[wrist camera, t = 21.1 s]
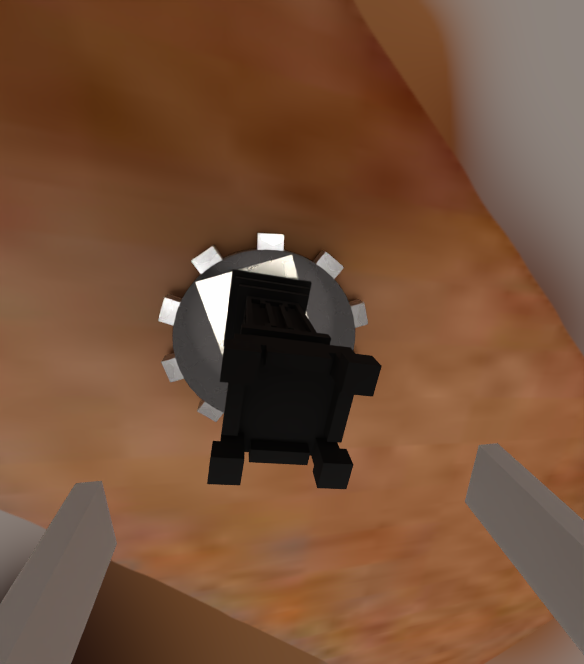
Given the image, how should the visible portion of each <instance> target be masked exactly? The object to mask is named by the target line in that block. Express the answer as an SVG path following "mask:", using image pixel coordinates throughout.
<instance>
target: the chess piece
mask: <svg viewBox="0 0 584 664" xmlns="http://www.w3.org/2000/svg"><path fill="white" fill-rule="evenodd" d="M311 284H312V282H311V281H306V280H299V279H293V278H287V277H280V276H274V275H268V274H261V273H255V272H249V271H242V270H236V269H233V270H232V278H231V286H230V294H229V302H228V311H227V319H226V327H225V335H224V344H223V346H224V350H223V359H222V367H221V375H220V382H225V383H228V387H227V395H226V402H225V410H224V418H223V425H222V433H221V441H213V444H212V450H211V457H210V465H209V474H208V482H207V484H220V485H240V483H241V477H242V470H243V464H244V452H249V462H256V463H276V464H296V465H307V464H308V460H309V455H311V456H312V459H313V463H314V468H313V474H314V478H315V481H316V485H317V488H329V489H346V488H347V485H348V481H349V478H350V474H351V471H352V468H353V463H352V460H351V458H350V456H349V454H348V451H347V449H340V448H339V446H338V443H337V442H342V438H343V434H344V430H345V427H346V423H347V419H348V415H349V412H350V408H351V404H352V400H353V396H354V395H363V396H373V394H374V391H375V387H376V384H377V380H378V377H379V373H380V370H381V365H380V364H379V363H378V362H377V361H376V360H375V358H374V357H373V356H369V355H361V354H355V352H354V351H353V350H352V349H351V348H350V347H343V346H335V345H330V342H331V337H330V336H329V334H323V333H317V332H316V330H315V329H314V327H313V325H312V324H311V322H310V321H309V319H308V318H307V316H306V310H307V304H308V299H309V294H310V289H311Z"/></svg>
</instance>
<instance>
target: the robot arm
mask: <svg viewBox="0 0 584 664" xmlns="http://www.w3.org/2000/svg"><path fill="white" fill-rule="evenodd" d="M465 503H466V504H467V505H468V506H469V508H470V509H471V510H472V512H473V513H474V514H475V515H476V517H477V518H478V519H479V521H480V522H481V523H482V524H483V526H484V527H485V528H486V530H487V531H488V532H489V534H490V535H491V536H492V537H493V539H494V540H495V541H496V543H497V544H498V545H499V546H500V548H501V549H502V550H503V552H504V553H505V554H506V555H507V557H508V558H509V559H510V561H511V562H512V563H513V564H514V566H515V567H516V568H517V570H518V571H519V572H520V573H521V575H522V576H523V577H524V579H525V580H526V581H527V583H528V584H529V585H530V586H531V588H532V589H533V590H534V592H535V593H536V594H537V595H538V597H539V598H540V599H541V601H542V602H543V603H544V604H545V606H546V607H547V608H548V610H549V611H550V612H551V613H552V615H553V616H554V617H555V619H556V620H557V621H558V622H559V624H560V625H561V626H562V628H563V629H564V630H565V631H566V633H567V634H568V635H569V637H570V638H571V639H572V641H573V642H574V643H575V644H576V646H577V647H578V648H579V650H580V651H581V652H582V653H583V655H584V520H583V519H581V518H580V517H579V516H578V515H577V514H576V513H575V512H574V511H572V510H571V509H570V508H569V507H568V506H567V505H566V504H565V503H564V502H562V501H561V500H560V499H559V498H558V497H557V496H556V495H555V494H553V493H552V492H551V491H550V490H549V489H548V488H547V487H546V486H545V485H543V484H542V483H541V482H540V481H539V480H538V479H537V478H536V477H534V476H533V475H532V474H531V473H530V472H529V471H528V470H527V469H526V468H524V467H523V466H522V465H521V464H520V463H519V462H518V461H517V460H515V459H514V458H513V457H512V456H511V455H510V454H509V453H508V452H507V451H505V450H504V449H503V448H502V447H501V446H500V445H499V444H498V443H497V444H486V445H479V447H478V451H477V455H476V459H475V463H474V467H473V471H472V475H471V479H470V483H469V487H468V491H467V495H466V499H465ZM116 544H117V542H116V538H115V534H114V530H113V526H112V521H111V517H110V513H109V509H108V505H107V501H106V496H105V492H104V488H103V484H102V481H96V482H85V483H76V484H75V485H74V487H73V488H72V490H71V492H70V493H69V495H68V496H67V498H66V500H65V501H64V503H63V504H62V506H61V508H60V509H59V511H58V512H57V514H56V516H55V517H54V519H53V521H52V522H51V524H50V525H49V527H48V529H47V530H46V532H45V534H44V535H43V537H42V538H41V540H40V541H39V543H38V545H37V546H36V548H35V549H34V551H33V553H32V554H31V556H30V557H29V559H28V561H27V563H26V564H25V566H24V567H23V569H22V570H21V572H20V573H19V575H18V577H17V578H16V580H15V582H14V583H13V585H12V586H11V588H10V589H9V591H8V593H7V594H6V596H5V598H4V599H3V601H2V602H1V604H0V664H71V661H72V659H73V656H74V654H75V651H76V648H77V646H78V643H79V640H80V638H81V635H82V633H83V630H84V628H85V625H86V623H87V620H88V617H89V615H90V612H91V610H92V607H93V604H94V602H95V598H96V596H97V594H98V591H99V589H100V586H101V583H102V581H103V578H104V576H105V573H106V570H107V567H108V565H109V563H110V560H111V557H112V555H113V552H114V550H115V547H116Z"/></svg>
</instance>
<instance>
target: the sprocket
mask: <svg viewBox="0 0 584 664" xmlns="http://www.w3.org/2000/svg"><path fill="white" fill-rule="evenodd" d="M283 248H284V234H274V233H257V248H256V249H248V250H244V251H239V252H236V253H234V254H231V255H228V256H226V257H224V258H223V256H222V255H221V254H220V252H219V251H218V249H217V248H216V247H215V245H213V246H211V247H210V248H209V249H207V250H206V251H204V252H203V253H201V254H200V255H198V256H197V257H196V258H194V259H193V260H191V262H192V263H193V264H194V266H195V267H196V268H197V270H198V271H199V272H200V275H199V276H198V277H197V279H196V280H195V281H194V282H193V284H192V285H191V286H190V287H189V289H188V290H187V292H186V293H185V295H184V297H183V298H180V297H177V296H174V295H171V294H168V295H167V296H166V297H165V298H164V301H163V305H162V308H161V312H160V316H159V319H158V321H160V322H164V323H167V324H170V325H173V349H174V353H172V354H168V355H165V356H164V358H163V360H162V361H161V363H162V365H163V367H164V369H165V371H166V374H167V376H168V378H169V380H170V382H174V381H177V380H180V379H185V381H186V382H187V383H188V385H189V386H190V388H191V389H192V390H193V391H194V392H195V393H196V394H197V395H198V396H199V397H200V398H201V399H202V400H201V401H200V403H199V406H198V410H197V411H198V412H199V413H201V414H203V415H205V416H206V417H208V418H210V419H212V420H213V421H215V422H216V421H217V420H218V419H219V418H220V417H221V415H222V414H223V413H224V410H225V402H226V395H227V387H228V383H225V382H220V375H221V367H222V359H223V350H224V346H223V344H224V335H225V327H226V319H227V311H228V302H229V294H230V286H231V278H232V270H233V269H236V270H242V271H249V272H255V273H261V274H268V275H274V276H280V277H287V278H293V279H299V280H306V281H311V282H312V284H311V289H310V294H309V299H308V304H307V310H306V316H307V318H308V319H309V321H310V322H311V324H312V325H313V327H314V329H315V330H316V332H317V333H323V334H329V336H330V337H331V342H330V345H335V346H343V347H350V348H351V349H352V350H353V349H354V342H355V328H356V327H360V326H363V325H366V324H368V321H367V316H366V310H365V305H364V302H363V301H361V300H360V299H356V300H353V301H350V302H348V299H347V297H346V295H345V294H344V292H343V290H342V289H341V287H340V286H339V284H338V283H337V282H336V281H335V280H334V279H335V278H336V276H337V275H338V274H339V273H340V272H341V270H342V269H343V268H344V267H343V266H342V265H341V264H340V263H338V262H337V261H336V260H335V259H334V258H333V257H332V256H330V255H329V254H328V253H327V252H326V251H323V250H322V251H321V252H320V253H319V254H318V256H317V257H316V258H315V259H314V261H313V262H312V261H311V260H309V259H307V258H305V257H303V256H301V255H299V254H296V253H293V252H290V251H286V250H283Z"/></svg>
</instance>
